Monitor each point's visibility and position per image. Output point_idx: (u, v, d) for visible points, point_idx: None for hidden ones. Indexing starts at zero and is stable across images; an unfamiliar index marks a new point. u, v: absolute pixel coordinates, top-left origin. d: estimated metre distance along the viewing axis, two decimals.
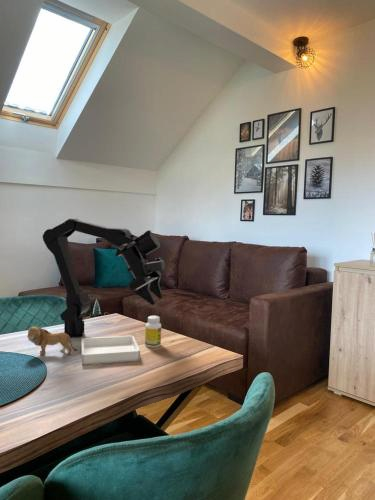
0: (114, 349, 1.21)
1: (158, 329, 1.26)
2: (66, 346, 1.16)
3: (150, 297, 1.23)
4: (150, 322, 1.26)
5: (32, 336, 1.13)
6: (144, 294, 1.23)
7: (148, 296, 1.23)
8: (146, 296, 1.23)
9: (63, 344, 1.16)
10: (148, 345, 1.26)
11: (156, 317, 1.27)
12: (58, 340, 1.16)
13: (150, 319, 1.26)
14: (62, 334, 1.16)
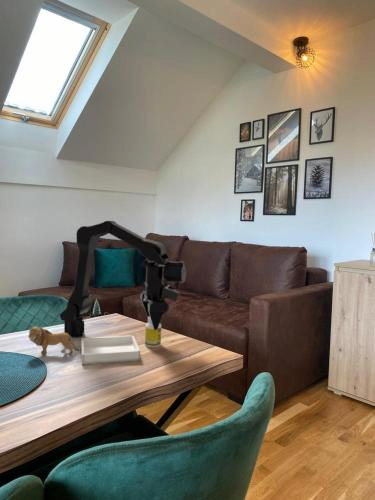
0: (114, 349, 1.21)
1: (158, 329, 1.26)
2: (67, 346, 1.16)
3: (158, 322, 1.22)
4: (150, 322, 1.26)
5: (33, 336, 1.13)
6: (155, 317, 1.21)
7: (157, 320, 1.22)
8: (155, 320, 1.22)
9: (64, 344, 1.16)
10: (148, 345, 1.26)
11: None
12: (59, 340, 1.16)
13: (150, 319, 1.26)
14: (63, 334, 1.16)
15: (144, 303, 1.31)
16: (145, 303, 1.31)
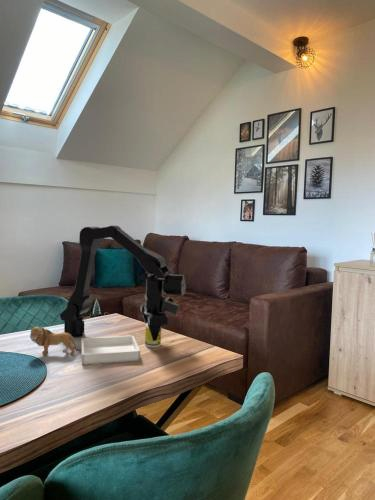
0: (114, 349, 1.21)
1: None
2: (69, 346, 1.16)
3: (157, 334, 1.24)
4: None
5: (35, 336, 1.13)
6: (154, 329, 1.23)
7: (156, 332, 1.24)
8: (154, 331, 1.24)
9: (66, 344, 1.16)
10: (148, 345, 1.26)
11: None
12: (61, 340, 1.16)
13: None
14: (65, 334, 1.16)
15: (145, 317, 1.30)
16: (146, 317, 1.30)
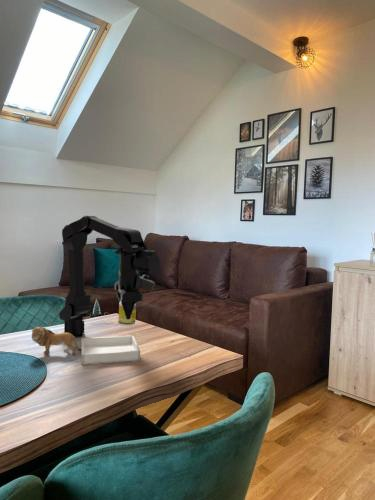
0: (114, 349, 1.21)
1: None
2: (70, 346, 1.16)
3: (130, 312, 1.18)
4: None
5: (37, 336, 1.13)
6: (127, 306, 1.17)
7: (130, 309, 1.18)
8: (128, 309, 1.17)
9: (68, 344, 1.16)
10: (121, 324, 1.20)
11: None
12: (62, 340, 1.16)
13: None
14: (66, 334, 1.17)
15: (119, 294, 1.23)
16: (120, 294, 1.24)
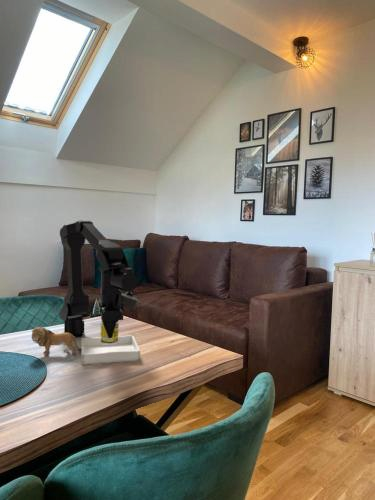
0: (114, 349, 1.21)
1: None
2: (71, 346, 1.16)
3: (112, 330, 1.15)
4: None
5: (37, 337, 1.12)
6: (108, 325, 1.14)
7: (111, 328, 1.15)
8: (109, 328, 1.14)
9: (68, 344, 1.16)
10: (103, 342, 1.16)
11: None
12: (62, 340, 1.16)
13: None
14: (66, 334, 1.16)
15: None
16: None
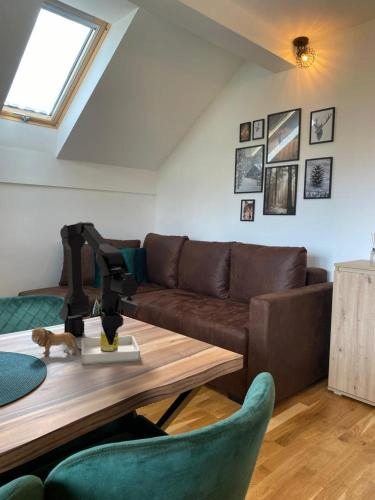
0: None
1: None
2: (71, 346, 1.16)
3: (113, 337, 1.13)
4: None
5: (37, 337, 1.12)
6: (109, 332, 1.13)
7: (112, 335, 1.13)
8: (110, 334, 1.13)
9: (68, 344, 1.16)
10: (103, 352, 1.17)
11: None
12: (63, 340, 1.16)
13: None
14: (67, 334, 1.16)
15: (101, 315, 1.22)
16: None
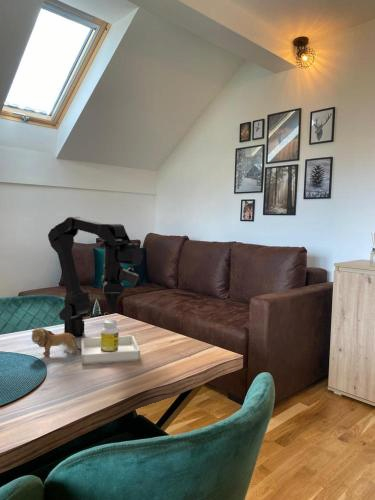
0: None
1: (114, 334, 1.17)
2: (71, 346, 1.16)
3: (114, 304, 1.20)
4: (106, 327, 1.17)
5: (37, 338, 1.12)
6: (110, 299, 1.20)
7: (113, 302, 1.20)
8: (111, 302, 1.20)
9: (68, 344, 1.16)
10: (103, 352, 1.17)
11: (113, 321, 1.18)
12: (63, 340, 1.16)
13: (106, 324, 1.17)
14: (67, 334, 1.16)
15: None
16: None
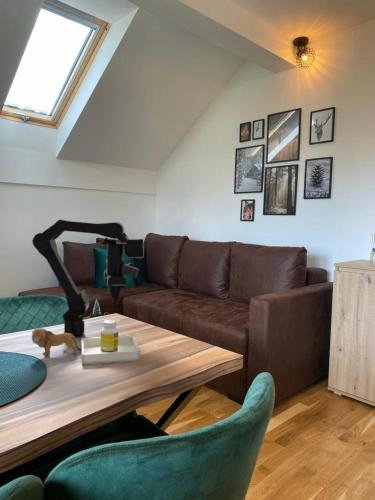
0: None
1: (114, 334, 1.16)
2: (72, 346, 1.16)
3: (117, 296, 1.31)
4: (105, 327, 1.17)
5: (38, 338, 1.11)
6: (114, 291, 1.30)
7: (116, 294, 1.30)
8: (114, 294, 1.30)
9: (69, 344, 1.16)
10: (103, 352, 1.17)
11: (112, 321, 1.18)
12: (63, 341, 1.16)
13: (105, 324, 1.16)
14: (67, 334, 1.16)
15: (107, 280, 1.39)
16: None
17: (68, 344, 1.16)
